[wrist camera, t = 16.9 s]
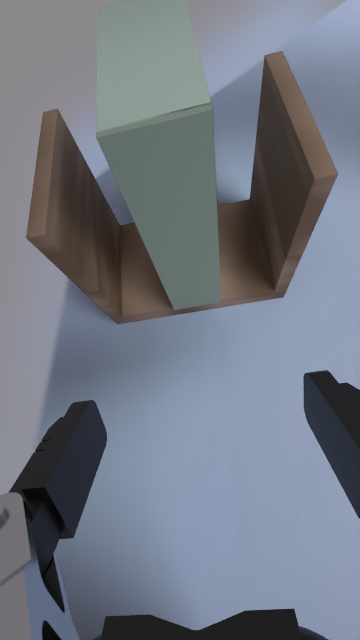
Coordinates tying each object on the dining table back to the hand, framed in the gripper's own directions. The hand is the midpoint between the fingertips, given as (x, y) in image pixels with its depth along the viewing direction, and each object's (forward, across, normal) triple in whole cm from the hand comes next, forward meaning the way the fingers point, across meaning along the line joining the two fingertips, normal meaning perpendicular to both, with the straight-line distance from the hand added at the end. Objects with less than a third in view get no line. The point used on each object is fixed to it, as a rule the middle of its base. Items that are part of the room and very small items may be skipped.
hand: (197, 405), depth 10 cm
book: (+17, 0, -2) cm, 17 cm away
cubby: (+18, 0, -2) cm, 18 cm away
